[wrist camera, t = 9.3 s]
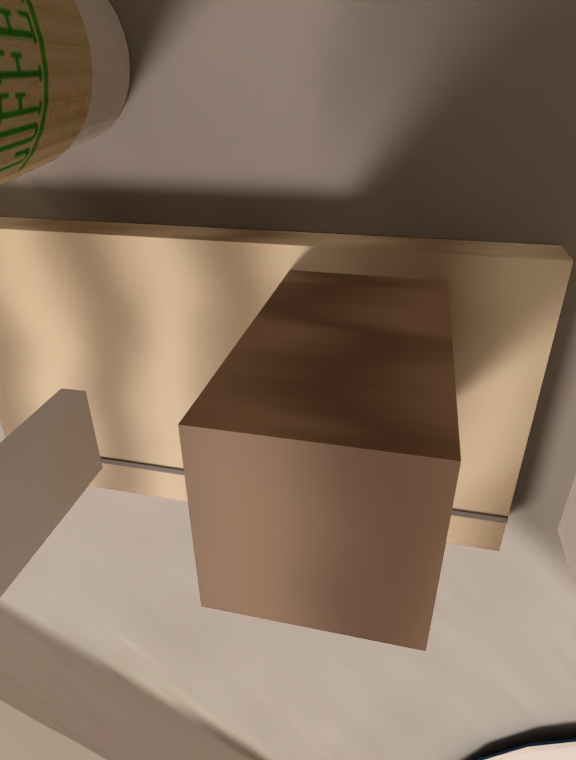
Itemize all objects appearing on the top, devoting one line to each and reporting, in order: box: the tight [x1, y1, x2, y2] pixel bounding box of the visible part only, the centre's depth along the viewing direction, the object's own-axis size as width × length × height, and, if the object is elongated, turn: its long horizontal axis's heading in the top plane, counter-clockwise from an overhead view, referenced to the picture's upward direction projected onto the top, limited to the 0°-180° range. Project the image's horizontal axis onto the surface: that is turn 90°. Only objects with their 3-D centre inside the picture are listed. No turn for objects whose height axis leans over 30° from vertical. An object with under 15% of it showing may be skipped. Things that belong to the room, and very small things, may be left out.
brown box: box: [178, 270, 461, 651], centre depth 19 cm, size 6×12×11 cm, turn 0°
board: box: [0, 217, 573, 551], centre depth 26 cm, size 26×14×2 cm, turn 90°
